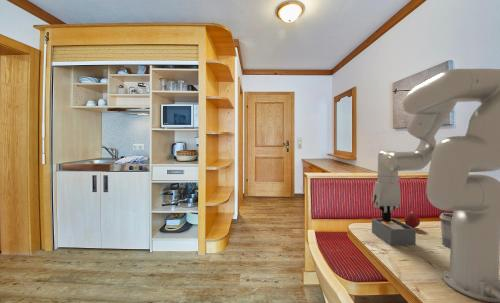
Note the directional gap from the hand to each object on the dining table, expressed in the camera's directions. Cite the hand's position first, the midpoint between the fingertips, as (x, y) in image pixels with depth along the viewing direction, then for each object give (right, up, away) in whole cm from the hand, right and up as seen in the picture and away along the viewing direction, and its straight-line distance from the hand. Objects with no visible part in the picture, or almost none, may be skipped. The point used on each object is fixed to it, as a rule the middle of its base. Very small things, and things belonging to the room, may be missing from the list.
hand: (386, 220), depth 96 cm
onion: (+15, -6, +6) cm, 17 cm away
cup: (+18, -7, -11) cm, 22 cm away
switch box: (0, -6, -4) cm, 7 cm away
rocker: (0, -1, -4) cm, 4 cm away
